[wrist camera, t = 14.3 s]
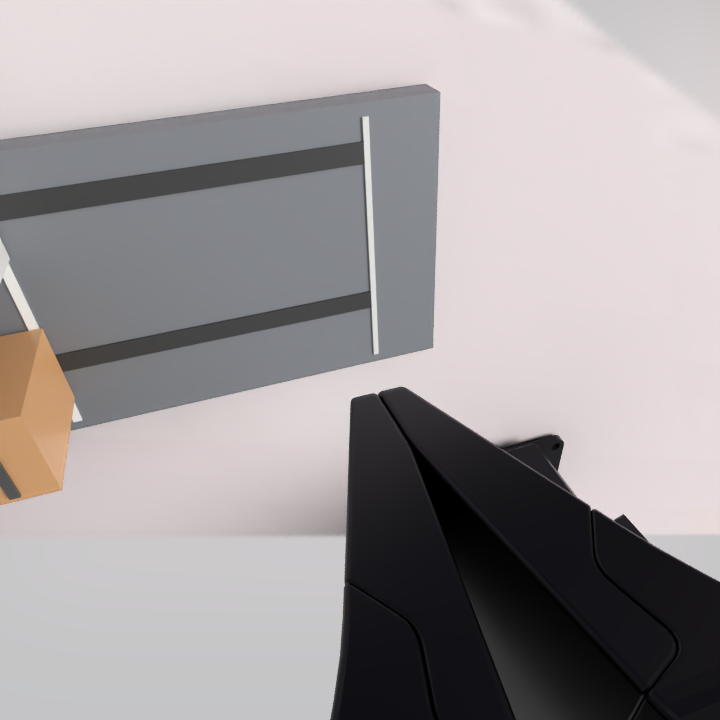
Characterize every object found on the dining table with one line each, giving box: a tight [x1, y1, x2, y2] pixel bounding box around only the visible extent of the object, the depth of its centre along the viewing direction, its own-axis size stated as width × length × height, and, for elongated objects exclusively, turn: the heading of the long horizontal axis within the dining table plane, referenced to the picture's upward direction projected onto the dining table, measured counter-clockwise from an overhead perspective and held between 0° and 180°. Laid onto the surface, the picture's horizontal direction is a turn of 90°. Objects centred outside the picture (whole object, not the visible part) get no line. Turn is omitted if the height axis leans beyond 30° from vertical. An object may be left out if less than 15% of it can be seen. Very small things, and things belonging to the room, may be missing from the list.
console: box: [0, 84, 440, 431], centre depth 20 cm, size 10×20×1 cm, turn 93°
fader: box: [0, 328, 75, 505], centre depth 18 cm, size 3×2×4 cm
